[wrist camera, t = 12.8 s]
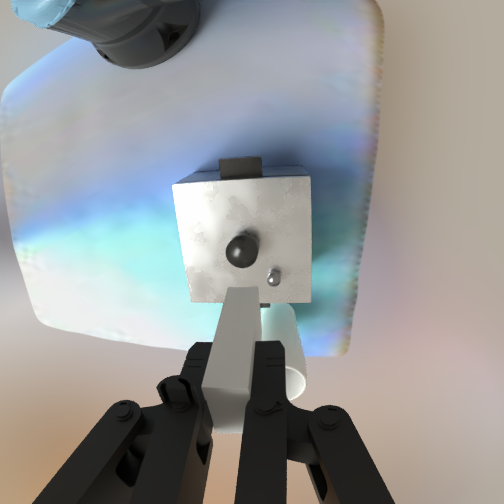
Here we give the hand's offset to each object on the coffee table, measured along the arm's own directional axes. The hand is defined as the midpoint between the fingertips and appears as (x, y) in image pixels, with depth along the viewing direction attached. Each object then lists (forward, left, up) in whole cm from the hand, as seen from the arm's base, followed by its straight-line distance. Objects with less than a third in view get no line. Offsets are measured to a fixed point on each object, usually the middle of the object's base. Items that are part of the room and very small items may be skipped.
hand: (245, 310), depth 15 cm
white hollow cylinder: (+18, +1, -27) cm, 32 cm away
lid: (+3, -2, -18) cm, 18 cm away
